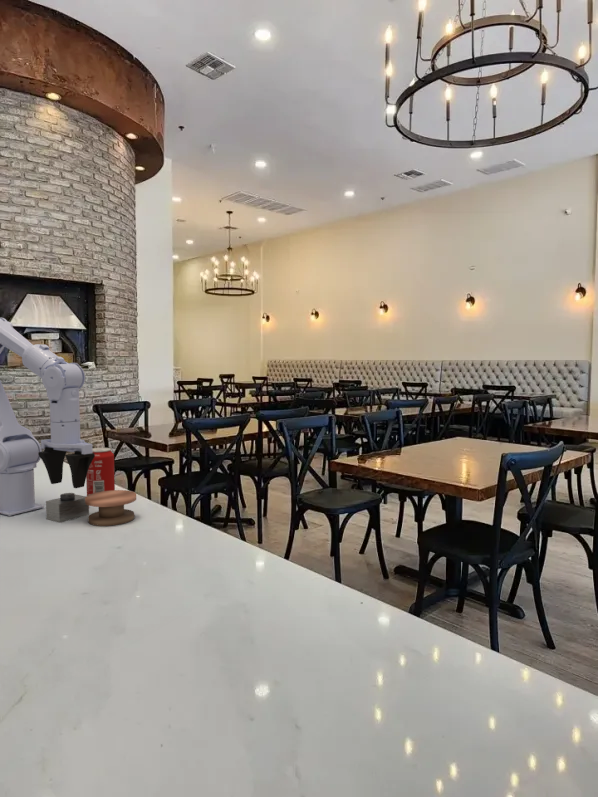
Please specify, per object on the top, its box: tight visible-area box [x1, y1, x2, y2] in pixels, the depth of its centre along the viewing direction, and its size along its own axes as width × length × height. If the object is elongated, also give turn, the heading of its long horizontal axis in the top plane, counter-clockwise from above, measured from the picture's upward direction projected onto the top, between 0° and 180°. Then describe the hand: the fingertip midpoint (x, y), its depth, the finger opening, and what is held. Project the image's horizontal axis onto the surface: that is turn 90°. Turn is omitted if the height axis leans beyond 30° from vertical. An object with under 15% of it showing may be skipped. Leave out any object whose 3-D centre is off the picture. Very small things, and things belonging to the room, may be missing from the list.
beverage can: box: [85, 447, 116, 496], centre depth 129 cm, size 6×6×12 cm
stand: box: [85, 489, 137, 527], centre depth 113 cm, size 10×10×5 cm
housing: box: [45, 492, 90, 524], centre depth 115 cm, size 4×7×5 cm, turn 148°
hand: (67, 485), depth 114 cm, fingers open, 7 cm apart
